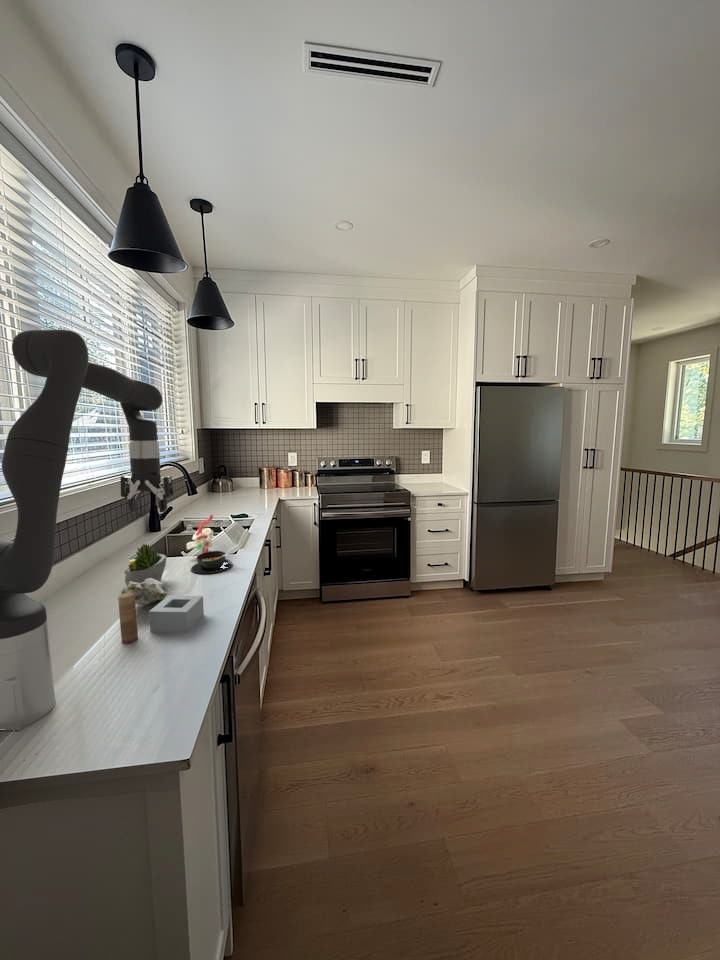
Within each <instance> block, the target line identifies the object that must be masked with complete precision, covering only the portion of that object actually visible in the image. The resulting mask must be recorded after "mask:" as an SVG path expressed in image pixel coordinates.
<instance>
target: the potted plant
mask: <svg viewBox="0 0 720 960" xmlns="http://www.w3.org/2000/svg"><path fill="white" fill-rule="evenodd" d="M157 550H158V549H157V548H155V547H154V546H152V544H150V545H149V543H147V544H146V543H142V545H140V547H138V546H137V551H135V556H134V558H135V559H134V558H132V559H130V560H129V563H128V564H127V566H128V568H127V569H125V571H124V575H125V576H124V582H125V585H126V587H127V586H128V584H129V581H132V582H136V583H142V582H144V581H145V579H149V578H153V579H155V580H157V581H160V582H162V577H163V574H164V572H165V569H166V565H167V555H165V554H164V553H161V552H160V553H159V552H157Z"/></svg>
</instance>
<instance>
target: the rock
mask: <svg viewBox="0 0 720 960" xmlns="http://www.w3.org/2000/svg"><path fill="white" fill-rule="evenodd" d="M163 586H164V583H163V582H162V581H157V580H155V579H153V578H149V579H145V581H144V582H142V583H136V582H132V581H129V584H128V586H127V585H126V587H125V588H122V590H121V591H120V595H122V594H126V593H134V594H135V603H136V605H137V606H140V607H144V606H147V605H151V604H153V603H155V602H156V601H158V600H159V601H160V600H164V599H165V598H166V597H167V596H168V592H167V591H165V590H164V588H163Z"/></svg>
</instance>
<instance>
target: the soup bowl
mask: <svg viewBox="0 0 720 960" xmlns="http://www.w3.org/2000/svg"><path fill="white" fill-rule="evenodd" d="M231 553H233V551H230V552H228V553H226V552H225V551H224V552H223V551H222V550H210V551H208V552H205V553H200V554H198V555H197V556H196V562H197V563H195V564H194V565H192V566H191V568H190V572H192V573H196V574H203V575H204V574H205V575H206V574H207V573H209V574H213V573H219V572H222V571H225V570H228V569H229V568H231V566H232V564H233V561H232V560H230V559H228V558H227V559H226V556H227V555H229V554H231ZM224 562H225V563H226V562H227V563H228V564H226V565H224V566H225V567H228V568H226V569H223V568H220V567H221V566H222V565H223V563H224Z"/></svg>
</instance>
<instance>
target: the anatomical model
mask: <svg viewBox="0 0 720 960" xmlns="http://www.w3.org/2000/svg"><path fill="white" fill-rule="evenodd" d="M213 518H214V515H213V514H210V515H209V518H207V519H204V520H203V521H201V522H200V521H199V522H198V523H197V530H195V531H196V532H195V533H194V534H193V535H192V538H191V540H193V541H188V542H187V543H186V545H185V546H186V550H188V551H189V550H192V549H196V550H195V552H198V551H201V552H202V553H205V552H209V548H212V547H213V542H212V539H213V538H212V537H213V535H214V530H213V529H211V528H209V527H204V526H207V525H208V524H209V523H210V522H211V521H212V520H213ZM202 553H201V554H202Z"/></svg>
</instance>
